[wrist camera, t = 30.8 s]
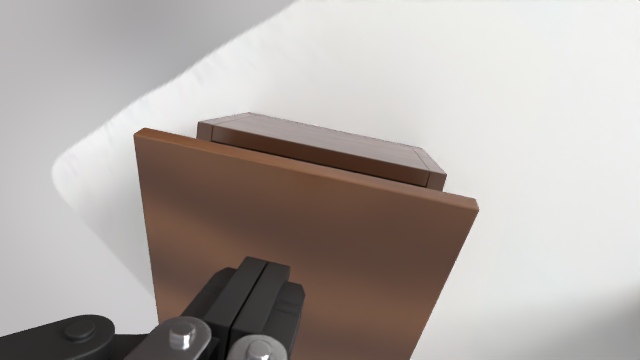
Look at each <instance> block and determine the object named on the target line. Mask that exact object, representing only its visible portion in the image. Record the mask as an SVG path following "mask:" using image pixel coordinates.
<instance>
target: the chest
mask: <svg viewBox="0 0 640 360" xmlns="http://www.w3.org/2000/svg"><path fill="white" fill-rule="evenodd" d="M196 139H200V140H205V141H209V142H214V143H219V144H223V145H228V146H233V147H237V148H242V149H246V150H251V151H256V152H260V153H265V154H270V155H274V156H279V157H284V158H288V159H292V158H295V159H299V160H304V161H309V162H313V163H318V164H323V165H327V166H332V167H336V168H341V169H346V170H350V171H354V173H358V174H362V175H367V176H372V177H376V178H381V179H386V180H390V181H395V182H399V183H404V184H409V185H413V186H418V187H423V188H427V189H432V190H437V191H441V192H442V190H443V187H444V183H445V180H446V177H447V174H446V173H445V172H444V171H443V170H442V169H441V168H440V167H439V166H438V165H437V164H436V162H435V161H434V160H433V159H432V158H431V157H430V156H429V155H428V154H427V153H426V152H425V151H424V150H423V149H422V148H418V147H413V146H409V145H404V144H399V143H394V142H389V141H384V140H380V139H375V138H370V137H365V136H360V135H356V134H351V133H346V132H341V131H336V130H331V129H327V128H322V127H317V126H312V125H307V124H303V123H298V122H293V121H288V120H283V119H278V118H274V117H269V116H264V115H259V114H254V113H250V112H249V113H243V114H238V115H232V116H227V117H222V118H216V119H211V120H206V121H200V122H198V127H197V137H196Z"/></svg>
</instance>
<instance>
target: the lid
mask: <svg viewBox="0 0 640 360" xmlns="http://www.w3.org/2000/svg"><path fill="white" fill-rule="evenodd" d="M133 136H134V144H135V151H136V159H137V166H138V173H139V181H140V188H141V196H142V203H143V210H144V218H145V225H146V233H147V240H148V247H149V255H150V262H151V270H152V277H153V284H154V292H155V299H156V306H157V314H158V321H159V324H160V323H162V322H164V321H166V320H168V319H171V318H174V317H179V316H180V315H181V314H182V312H183V311H184V310H185V309H186V308H187V306H188V305H189V304H190V303H191V302H192V300H193V299H194V298H195V297H196V295H197V294H198V293H199V292H200V291H201V290H202V288H203V287H204V286H205V285H206V284H207V283H208V281H209V280H210V279H211V277H212V276H213V275H214V274H215V273H216V272H218V271H220V270H222V269H224V268H226V267H231V268H235V269H238V267H239V266H240V264H241V263H242V262H243V260H244V259H245V257H246V256H250V257H254V258H258V259H262V260H266V261H268V262H269V261H270V262H275V263H279V264H283V265H287V266H290V267H291V269H290V275H289V280H288V281H289V282H293V283H297V284H301V285H302V287H303V289H304V292H305V300H304V305H303V309H302V314H301V319H300V324H299V329H298V334H297V338H296V341H295V345H294V348H293V352H292V355H291V359H290V360H410V358H411V355H412V353H413V351H414V349H415V347H416V345H417V343H418V340H419V338H420V336H421V334H422V332H423V330H424V328H425V325H426V323H427V321H428V319H429V317H430V315H431V313H432V310H433V308H434V306H435V304H436V302H437V300H438V298H439V295H440V293H441V291H442V289H443V287H444V285H445V282H446V280H447V278H448V276H449V274H450V272H451V270H452V267H453V265H454V263H455V261H456V259H457V257H458V255H459V252H460V250H461V248H462V246H463V244H464V242H465V240H466V237H467V235H468V233H469V231H470V229H471V227H472V225H473V222H474V220H475V218H476V216H477V214H478V212H479V207H478V204H477V202H476V199H474V198H469V197H464V196H460V195H455V194H450V193H446V192H441V191H437V190H432V189H427V188H423V187H418V186H413V185H409V184H404V183H399V182H395V181H390V180H386V179H381V178H376V177H372V176H367V175H362V174H358V173H353V172H348V171H344V170H339V169H335V168H330V167H325V166H321V165H316V164H311V163H307V162H302V161H297V160H293V159H288V158H284V157H279V156H274V155H270V154H265V153H260V152H256V151H251V150H246V149H242V148H237V147H233V146H228V145H223V144H219V143H214V142H209V141H205V140H200V139H195V138H191V137H186V136H182V135H177V134H172V133H168V132H163V131H158V130H154V129H149V128H143V129H141V130H140V131H138V132H136V133H135V134H134V135H133Z"/></svg>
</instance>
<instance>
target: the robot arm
mask: <svg viewBox="0 0 640 360" xmlns="http://www.w3.org/2000/svg"><path fill="white" fill-rule="evenodd" d="M290 269H291V267H290V266H287V265H283V264H279V263H275V262H270V261H269V262H268V261H266V260H262V259H258V258H254V257H250V256H246V257H245V259H244V260H243V262H242V263H241V264H240V266H239V267H238V269H235V268H231V267H226V268H224V269H222V270H220V271H218V272H216V273H215V274H214V275H213V276H212V277H211V279H210V280H209V281H208V283H207V284H206V285H205V286H204V287H203V288H202V290H201V291H200V292H199V293H198V294H197V295H196V297H195V298H194V299H193V300H192V302H191V303H190V304H189V305H188V306H187V308H186V309H185V310H184V311H183V312H182V314H181V315H180V316H179V317H174V318H171V319H168V320H166V321H164V322H162V323H160V324H159V325H158V326H157V327H156V328H155V329H154V330H152V331H151V332H150V333H149V334H139V335H130V334H127V335H126V334H115V327H114V324H113V322H112V321H111V320H109V319H108V318H106V317H103V316H99V315H80V316H75V317H71V318H67V319H64V320H61V321H57V322H53V323H50V324H46V325H42V326H39V327H35V328H31V329H28V330H24V331H20V332H17V333H13V334H10V335H6V336H3V337H0V360H290V359H291V355H292V352H293V348H294V345H295V341H296V338H297V334H298V329H299V324H300V319H301V314H302V309H303V305H304V300H305V292H304V289H303V287H302V285H301V284H297V283H293V282H289V281H288V280H289V275H290Z"/></svg>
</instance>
